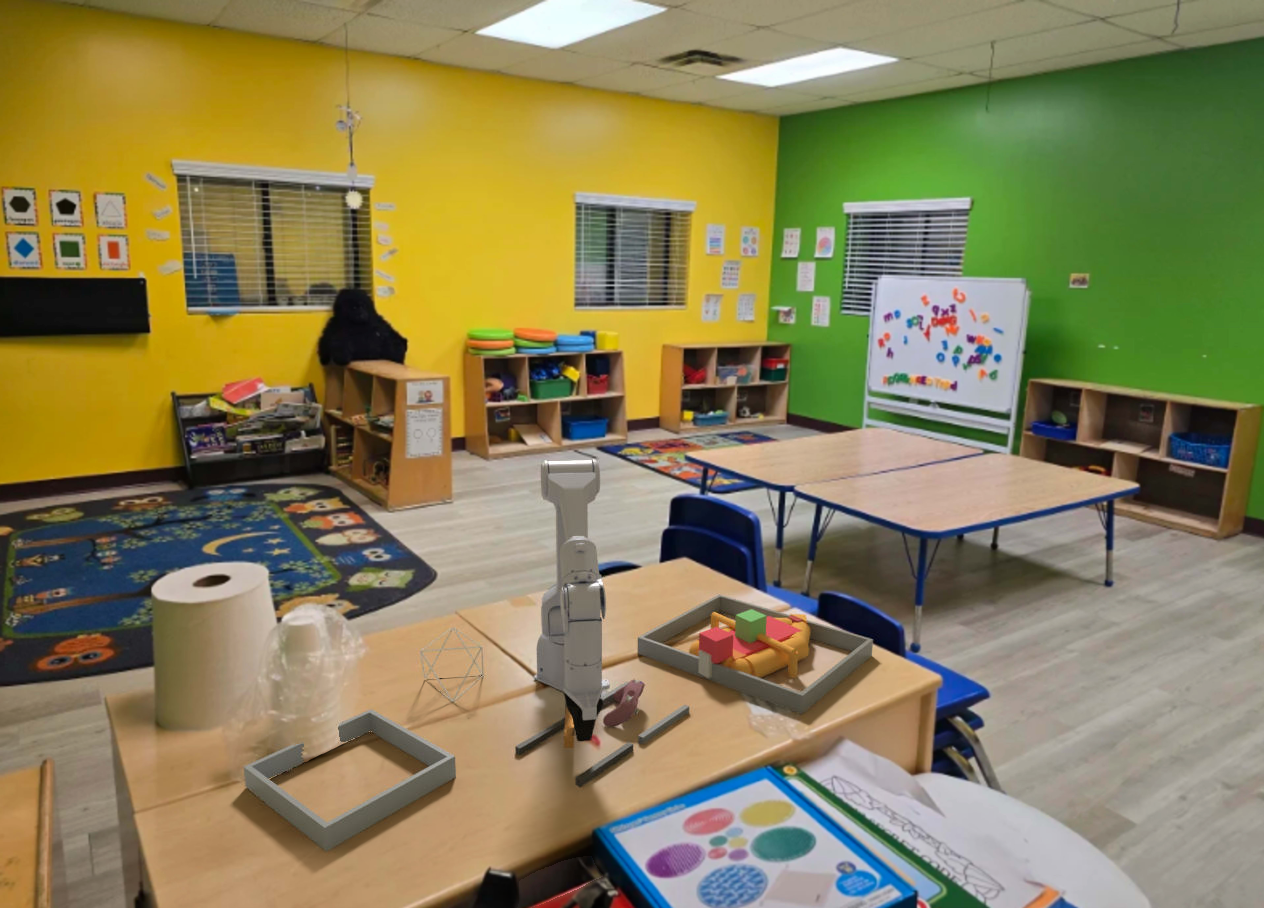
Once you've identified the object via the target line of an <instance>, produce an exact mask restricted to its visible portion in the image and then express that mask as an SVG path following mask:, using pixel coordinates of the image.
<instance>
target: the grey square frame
mask: <svg viewBox="0 0 1264 908" xmlns="http://www.w3.org/2000/svg"><path fill="white" fill-rule="evenodd" d="M339 723H340V724H339ZM339 723H338V724H339V726H338V730H339V737H340V741H341V742H346V741H349V740H351V739H353V738H357V737H358V736H361V735H363V734H365V733H367V734H369V733H370V732H369V731H372V732H373V734H374V733H375V735H376V736H377V735H378V736H377V737H379V738H381V739H383V740H384V741H385V742H388V743H389V744H391V745H393V746H394V747H396V748H397V749H400V750H401V751H403V752H405V753H407V754H408V755H410V756H411V757H413V758H415V759H416V760H418V761H420V762H421V763H423V764H425V765H426V766H427V767H426V768H423V769H422V770H420V771H418V772H417V773H415V774H413V775H412V776H409V777H407V778H406V779H404V780H402V781H400V782H398V783H397V784H395V785H393V786H391V787H389V788H388V789H385V790H383V791H382V792H380V793H378V794H376V795H375V796H373V797H370V798H368V799H367V800H366V801H364V802H362V803H360V804H357V805H356V806H354V807H352V808H351V809H349V810H347V811H345V812H344V813H342V814H340V815H338V816H336V817H334V818H332V819H330V820H328V821H326V820H324V819H323V818H322V817H320V815H318V814H317V813H315V812H314V811H313V810H311V809H310V808H308V807H307V806H305V805H304V804H303V803H301V802H300V801H299V800H298V799H296V798H295V797H293V796H292V795H291V794H290V793H288V792H287V791H286V790H284V789H283V788H281V787H280V786H279V785H277V784H276V783H275V782H273V781H272V779H271V780H269V778H271V777H273V776H275V775H278V774H280V773H283V772H285V771H287V770H289V769H291V768H293V767H296V766H298V765H299V764H302V763H303V761H304V760H303V759H304V758H302V757H301V756H302V755H303V754H302V753H301V752H302V751H304V750H303V749H302V747H304V744H303V743H304V742H303V743H300V744H296V745H293V744H290V745H289V746H285V747H284V748H282V749H280V750H278V751H275V752H272V753H271V754H268V755H267V756H264V757H262V758H259V759H258V760H255V761H253V762H251V763H249V764H246V765H244V766H243V774H244V782H245V783H244V786H245V788H246V787H247V788H248V789H250V790H251V791H252V792H253V793H255V794H256V795H257V796H258V797H259V798H260V799H259V798H258V797H257V796H256V797H257V798H258V799H259V800H261V801H262V800H263V801H264V802H265V803H264V802H263V801H262V802H263V803H264V804H266V805H267V806H269V808H271V809H272V810H273V809H274V810H273V811H274V812H276V813H277V814H278V815H280V816H281V817H282V818H283V819H285V820H286V821H287V822H289V823H290V824H291V825H293V827H295V828H297V830H299V831H300V832H302V833H303V834H304V835H305V836H306V837H308V838H309V839H310V840H312V841H313V842H314V843H316V845H318V846H319V847H321V848H322V849H323V850H325V851H326V852H328V851H330V850H331V849H333V848H335V847H336V846H340V844H342V843H344V842H346V841H348V840H349V839H350V838H351V839H352V838H353V837H354V836H356V835H358V834H359V833H361V832H362V831H364V830H366V829H367V828H369V827H371V826H373V825H375V824H376V823H378V822H380V821H382V820H384V819H386V818H387V817H389V816H391V815H392V814H394V813H396V812H397V811H399V810H401V809H403V808H404V807H406V806H408V805H409V804H411V803H413V802H416V801H417V800H419V799H420V798H422V797H424V796H425V795H428V794H429V793H431V792H433V791H434V790H436V789H439V788H440V787H441V786H443V785H445V784H446V783H448V782H450V781H451V780H454V779H455V778H456V777H457V770H456V767H457V766H456V756H455V755H454V754H452V753H451V752H448V751H446V750H445V749H444V748H441V747H440V746H438V745H436V744H434V743H432V742H431V741H429V740H427V739H425V738H424V737H422V736H420V735H418V734H416V733H415V732H413V731H411V730H409V729H408V728H406V727H404V726H402V725H401V724H399V723H397V722H396V721H393V720H391V718H388V717H386V716H384V715H383V714H381V713H379V712H377V711H375V710H374V709H372V708H370V709H367V710H366V711H364V712H361V713H359V714H357V715H354V716H353V717H350V718H348V719H346V720H344V721H341V722H339ZM368 732H369V733H368ZM372 732H371V733H372ZM365 735H366V734H365ZM363 736H364V735H363ZM361 737H362V736H361ZM357 739H358V738H357ZM302 765H303V764H302ZM298 767H299V766H298ZM296 768H297V767H296ZM291 770H292V769H291ZM289 771H290V770H289ZM287 772H288V771H287ZM285 773H286V772H285ZM283 774H284V773H283ZM248 789H247V790H248ZM252 792H251V793H252ZM253 793H252V794H253Z"/></svg>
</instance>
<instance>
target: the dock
mask: <svg viewBox="0 0 1264 908" xmlns="http://www.w3.org/2000/svg"><path fill="white" fill-rule="evenodd" d="M629 682H630V681H626V682H624V683H622V684H620V685H618V686H617V687H616V688H613V689H611V690H610V691H608V692H607V693H605V694H603V695H601V697H600V698H602V700H603V707H604V706H605V704H606V705H608V704H609V703H610V702H612V701H615V700H614V694H615V692H616V691H617V690H619V689H620V688H622V687H624V686H625V685H627V684H628V683H629ZM608 702H609V703H608ZM688 714H690V706H689V705H687V704H684V705H682V706H680V707H679V708H678V709H676V710H675V711H672V712H671V713H670V714H669V715H667V716H665V717H663V719H661V720H659V721H658V722H656V723H655V724H653V725H651V726H650V727H648V728H647V729H645V731H642V733H639V735H637V743H639V744H641V745H644V744H645V743H647V742H649V741H650V740H651V739H653V738H654V737H656V736H657V735H659V734H661V733H662V732H663V731H665V730H666V729H667V728H669V727H671V726H672V725H673V724H675V723H676V722H678V721H679V720H681V719H682V718H684V717H685V716H687V715H688ZM564 729H565V717H564V718H561V719H560V720H559V721H557V722H555V723H553V724H552V725H550V726H548V727H546V728H545V729H542V730H541V731H539V732H538V733H536V734H534V735H532V736H530V737H529V738H527V739H526V740H524V741H522V742H520V743H519V744H516V745H515V746H514V747H515V754H516V755H518V756H521V755H523V754H525V753H526V752H528V751H529V750H531V749H533V748H535V747H536V746H538V745H540V744H541V743H544V742H545V741H546V740H548V739H550V738H552V737H554V736H556V735H557V734H558V733H560V732H562V731H564ZM632 752H634V743H632V742H629V741H628V742H626V743H625V744H623V745H621V746H620V747H619V748H617V749H616V750H614V751H613V752H612V753H610V754H609V755H607V756H606V757H604V758H603V759H601V760H599V761H598V762H596V763H594V764H593V765H592V766H590V767H589V768H587V769H585V771H582V772H581V773H580V774H579V775H576V776H575V785H576V786H577V787H580V788H581V787H583V786H585V785H586V784H587V783H589V782H590V781H592V780H594V779H595V778H596V777H598V776H599V775H600V774H602V773H603V772H605V771H606V770H607V769H609V768H611V767H612V766H613V765H615V764H617V763H618V762H619V761H621V760H622V759H624V758H625V757H627V756H628V755H630V754H631V753H632Z"/></svg>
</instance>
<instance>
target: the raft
mask: <svg viewBox="0 0 1264 908" xmlns="http://www.w3.org/2000/svg"><path fill="white" fill-rule="evenodd" d="M789 615H790V616H789V617H788V618H773V617H770V616H768V617H767V616H766V615H764V614H761V613H759V612H757V611H755V610H752V609H751V610H748V611H745V612H742V613H740V614H737V615H736V616H735V620H734V619H731V618H729V617H727V616H724V615H722V614H720V613H719V612H717V613H716V612H713V613H712V614H711V616H710V629H707V630H704V631H701V632H699V634H698V637H699V638H698V639H697V640H696V641H694V642H693V643H691V645H690V647H689V649H688V653H690V654H693V655H696V656H699V671H698V673H700V674H702V675H703V676H705V677H707V678H710V677H711V676H712V663H715V664H717V663H718V664H721V665H724V666H727V667H730V668H733V669H735V670H738V671H741V672H744V673H747V674H750V675H752V676H755V677H758V678H761V679H762V678H764V677H766V676H768V675H771V674H773V673H774V672H777V671H779V670H782V669H783V668H786V667H787V676H788V677H790V678H792V679H793V678H797V677H798V662H799V661H802V660H804V659H805V658H808V656H809V653H810V647H809V643H810V633H811V631H810V627H809V626H808V625H807V616H806V615H807V614H796V613H795V614H794V613H791V614H789ZM720 623H721V624H723V625H726V626H727V627H725V628H721V627H720Z"/></svg>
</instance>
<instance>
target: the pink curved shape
mask: <svg viewBox="0 0 1264 908" xmlns="http://www.w3.org/2000/svg"><path fill="white" fill-rule="evenodd" d="M628 682H629V683H628V684H627V685H625V686H624V687H622V688H620V689H619V690H617V691H616V692H615V694H614V700H613V701H615V702H616V703H619V704H618V706H616V708H614V709H613V710H611V711H609V712H608V713H606V715H604V717H603V720H602V722H603V725H604V726H605V727H608V728H614V727H618V726H620V725H621V724H624V723H625V722H627V721H629V720H630V718H632V716H633V715H635V716H636V715H638V713H639V711H640V708H638V704H639V698H640V697H641V696H642V694H643V692H644V689H645V687H646V683H644V682H643V681H641V680H638V679H637V680H636V679H635V678H633V679H631V680H630V681H628Z"/></svg>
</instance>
